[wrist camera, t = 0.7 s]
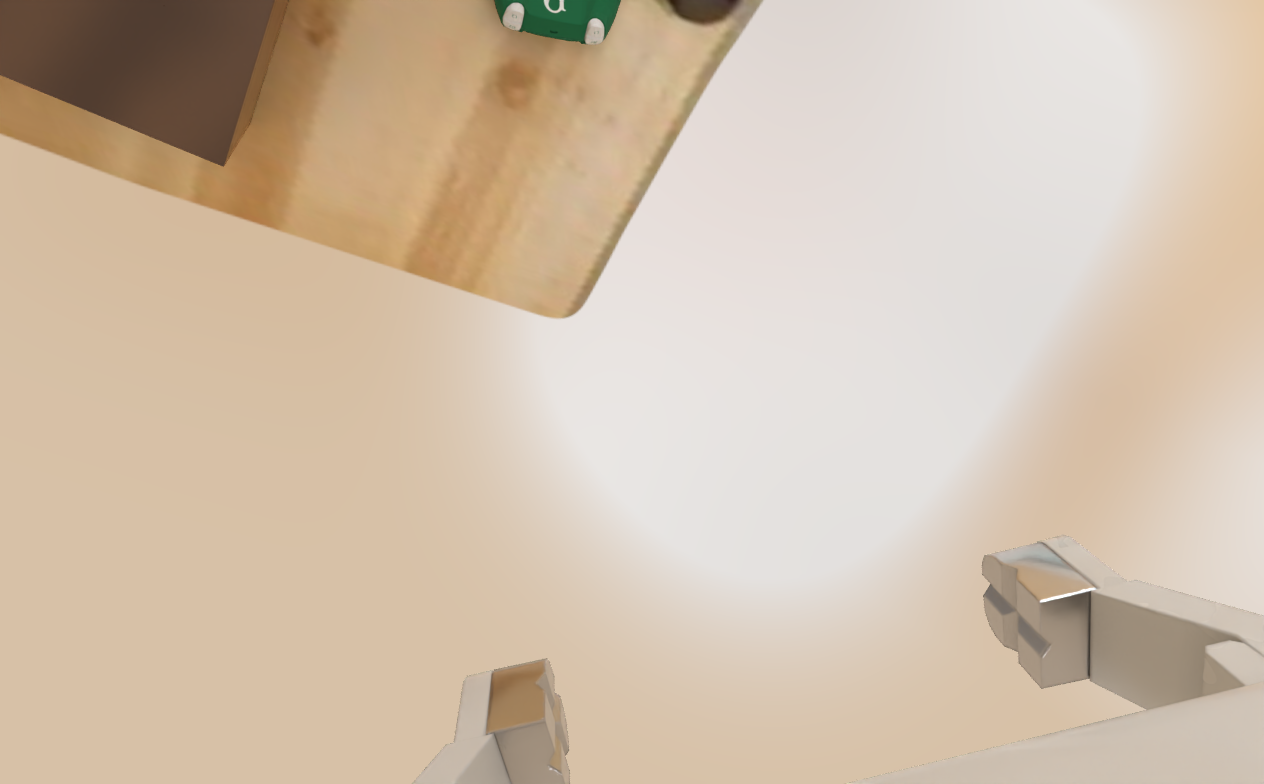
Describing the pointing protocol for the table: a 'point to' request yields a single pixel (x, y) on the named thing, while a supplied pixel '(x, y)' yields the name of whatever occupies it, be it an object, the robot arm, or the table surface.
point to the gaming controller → (560, 18)
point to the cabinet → (148, 62)
